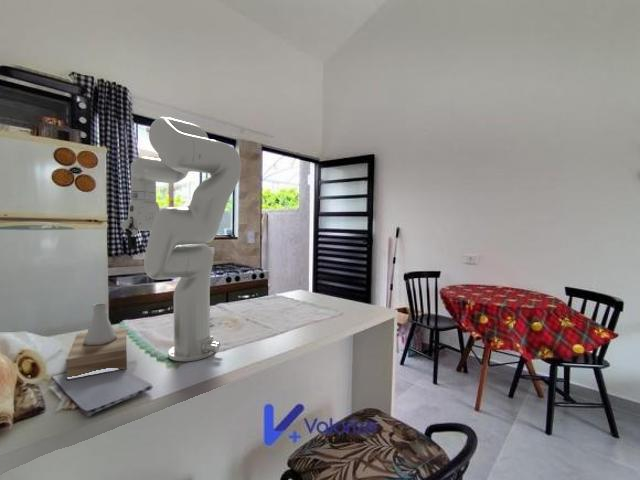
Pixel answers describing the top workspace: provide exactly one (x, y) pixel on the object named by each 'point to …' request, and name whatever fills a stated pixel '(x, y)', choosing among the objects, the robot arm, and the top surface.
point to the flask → (100, 327)
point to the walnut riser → (97, 355)
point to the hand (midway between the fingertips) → (144, 247)
